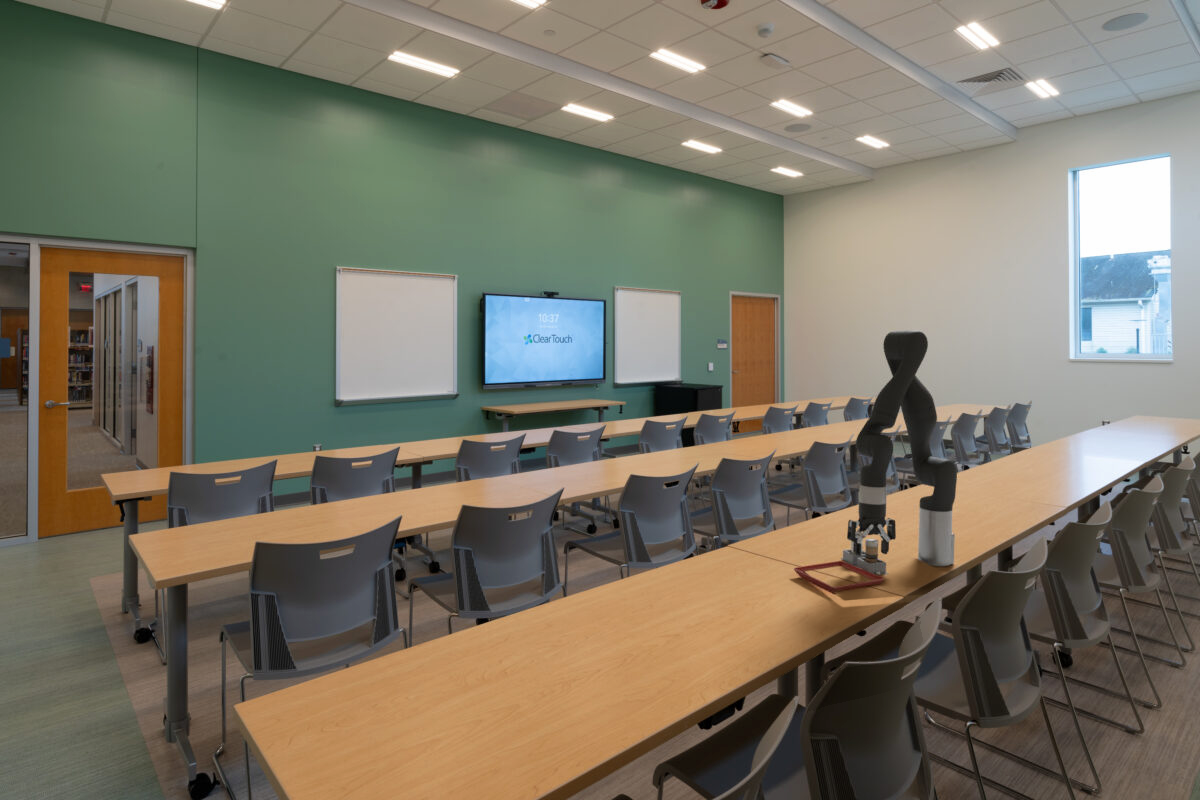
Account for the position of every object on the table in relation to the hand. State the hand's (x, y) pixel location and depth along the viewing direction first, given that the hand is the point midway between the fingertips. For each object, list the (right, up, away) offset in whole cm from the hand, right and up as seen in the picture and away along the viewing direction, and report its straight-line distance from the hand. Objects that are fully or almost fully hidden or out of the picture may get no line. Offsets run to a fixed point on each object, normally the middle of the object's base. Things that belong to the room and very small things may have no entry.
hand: (870, 554), depth 194 cm
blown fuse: (0, -5, 0) cm, 5 cm away
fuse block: (0, -6, +5) cm, 8 cm away
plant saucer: (-12, -8, -5) cm, 15 cm away
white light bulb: (-1, -4, +8) cm, 9 cm away
